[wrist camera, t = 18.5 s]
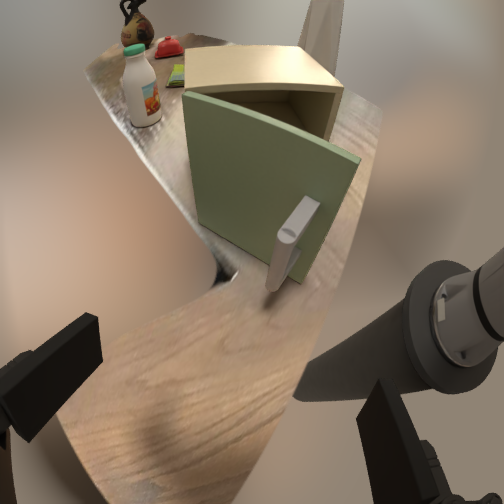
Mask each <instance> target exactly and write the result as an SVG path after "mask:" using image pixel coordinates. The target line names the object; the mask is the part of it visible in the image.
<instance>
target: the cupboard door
mask: <svg viewBox="0 0 504 504" xmlns="http://www.w3.org/2000/svg"><path fill="white" fill-rule="evenodd" d="M182 104H183V113H184V122H185V130H186V139H187V147H188V154H189V162H190V169H191V176H192V183H193V190H194V196H195V203H196V209H197V215H198V221H199V223H200V224H202V225H204V226H205V227H207V228H209V229H210V230H212V231H214V232H215V233H217V234H219V235H220V236H222V237H224V238H225V239H227V240H229V241H230V242H232V243H234V244H235V245H237V246H239V247H240V248H242V249H244V250H245V251H247V252H249V253H250V254H252V255H253V256H255V257H257V258H258V259H260V260H262V261H263V262H265V263H267V264H268V265H270V267H269V271H268V275H267V279H266V283H265V287H266V289H267V290H269V291H271V292H274V291H277V290H278V289H279V287H280V286H281V284H282V283H283V281H284V280H285V278H286V277H287V276H288V277H290V278H292V279H293V280H295V281H297V282H298V283H300V284H302V283H303V281H304V279H305V277H306V275H307V274H308V272H309V270H310V268H311V266H312V264H313V262H314V260H315V258H316V256H317V254H318V252H319V250H320V248H321V246H322V244H323V242H324V240H325V238H326V236H327V234H328V232H329V229H330V227H331V225H332V223H333V221H334V219H335V217H336V215H337V213H338V210H339V208H340V206H341V204H342V202H343V200H344V197H345V195H346V193H347V191H348V189H349V186H350V184H351V182H352V180H353V177H354V175H355V173H356V170H357V168H358V166H359V163H360V161H361V158H360V157H358V156H356V155H354V154H352V153H350V152H348V151H346V150H344V149H342V148H340V147H338V146H336V145H334V144H332V143H330V142H328V141H326V140H323V139H321V138H319V137H317V136H315V135H312V134H310V133H308V132H306V131H303V130H301V129H299V128H296V127H294V126H292V125H289V124H287V123H284V122H282V121H279V120H277V119H274V118H271V117H269V116H266V115H263V114H261V113H258V112H255V111H252V110H250V109H247V108H244V107H241V106H238V105H235V104H232V103H229V102H226V101H222V100H219V99H216V98H212V97H209V96H205V95H202V94H198V93H195V92H191V91H187V92H185V93H183V94H182Z"/></svg>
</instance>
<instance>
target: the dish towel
mask: <svg viewBox="0 0 504 504" xmlns="http://www.w3.org/2000/svg"><path fill="white" fill-rule="evenodd" d="M176 86H185V65H174V69H173V72H172V74H171V76H170V78H169V80H168V83H167V85H166V87H176Z"/></svg>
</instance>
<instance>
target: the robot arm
mask: <svg viewBox="0 0 504 504" xmlns="http://www.w3.org/2000/svg"><path fill="white" fill-rule="evenodd" d="M429 323H430V330H431V334H432V337H433V340H434V343H435V345H436V347H437V349H438V351H439V353H440V354H441V355H442V357H443V358H444V359H445V360H446V361H447V362H448V363H449V364H451V365H452V366H454V367H457V368H469V367H472V366H475V365H477V364H479V363H480V362H482V361H483V360H484V359H485V358H487V357H488V356H489V355H490V354H491V353H492V352H493V351H494V350H495V349H496V348H497V347H498V346H499V345H500V344H501V343H502V342H503V341H504V248H502V249H501V250H500V251H499V252H498V253H497V254H495V255H494V256H493V257H492V258H491V259H489V260H488V261H487V262H486V263H485V264H484V265H482V266H481V267H480V268H479V269H477V270H474V271H471V272H467V273H463V274H459V275H456V276H453V277H450V278H448V279H447V280H445V281H444V282H443V283H442V284H440V285H439V286H438V287H437V289H436V290H435V292H434V293H433V296H432V298H431V302H430V308H429ZM102 362H103V357H102V350H101V342H100V333H99V323H98V317H97V316H94V315H92V314H89V313H87V312H86V313H84V314H83V315H82V316H80V317H79V318H77V319H76V320H75V321H73V322H72V323H71V324H69V325H68V326H66V327H65V328H64V329H62V330H61V331H60V332H58V333H57V334H56V335H54V336H53V337H51V338H50V339H49V340H47V341H46V342H45V343H44V344H42V345H41V346H40V347H38V348H37V349H36V350H34V351H31V350H29V351H26V352H23V353H20V354H19V355H18V356H17V357H15V358H14V359H13V361H10V362H9V363H7V365H5V366H4V367H2V368H1V369H0V504H17V500H16V495H15V488H14V481H13V473H12V462H11V445H10V444H11V443H10V430H9V426H10V425H12V426H13V428H14V430H15V431H16V433H17V434H18V435H19V436H21V437H22V438H23V439H24V440H26V441H27V442H28V443H30V441H31V440H32V439H33V438H34V437H35V436H36V435H37V433H38V432H39V431H40V430H41V429H42V428H43V427H44V425H45V424H46V423H47V422H48V421H49V420H50V419H51V418H52V416H53V415H54V414H55V413H56V412H57V411H58V410H59V409H60V408H61V406H62V405H63V404H64V403H65V402H66V401H67V400H68V399H69V398H70V397H71V395H72V394H73V393H74V392H75V391H76V390H77V389H78V388H79V387H80V386H81V385H82V384H83V382H84V381H85V380H86V379H87V378H88V377H89V376H90V375H91V374H92V373H93V372H94V371H95V370H96V369H97V368H98V366H99V365H100V364H101V363H102ZM356 421H357V425H358V429H359V433H360V438H361V442H362V447H363V451H364V456H365V460H366V465H367V470H368V475H369V480H370V486H371V491H372V496H373V502H374V504H502V499H501V498H500V496H499V495H497V494H496V493H488V494H487V495H486V496H484V497H483V498H482V499H481V500H478V501H465V500H464V498H463V497H461V496H459V495H455V494H452V492H451V490H450V488H449V485H448V482H447V480H446V477H445V474H444V472H443V470H442V467H441V466H440V462H439V460H438V459H437V455H436V452H435V450H434V448H433V447H432V446H431V444H430V443H429V442H428V441H427V440H421V441H420V440H419V437H418V435H417V433H416V430H415V428H414V425H413V423H412V421H411V418H410V416H409V414H408V412H407V409H406V407H405V405H404V403H403V401H402V398H401V396H400V394H399V392H398V390H397V387H396V385H395V383H394V381H393V379H382V378H379V379H378V381H377V382H376V384H375V386H374V388H373V390H372V392H371V394H370V395H369V397H368V399H367V401H366V403H365V404H364V406H363V408H362V409H361V411H360V413H359V414H358V416H357V418H356Z"/></svg>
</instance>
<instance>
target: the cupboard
mask: <svg viewBox="0 0 504 504" xmlns="http://www.w3.org/2000/svg"><path fill="white" fill-rule="evenodd" d="M343 90H344V86H343V85H342V84H341V83H339V81H338V80H337V79H336V78H334V77H333V76H332V75H331V74H330V73H329V72H328V71H327V70H326V69H325V68H324V67H322V66H321V65H320V64H319V63H318V62H317V61H316V60H314V59H313V58H312V57H311V56H310V55H309V54H307V53H306V52H305V51H304V50H302V49H301V48H300V47H290V46H272V45H269V46H268V45H231V46H213V47H201V48H191V49H185V92H187V91H191V92H195V93H198V94H202V95H205V96H209V97H212V98H216V99H219V100H222V101H226V102H229V103H232V104H235V105H238V106H241V107H244V108H247V109H250V110H252V111H255V112H258V113H261V114H263V115H266V116H269V117H271V118H274V119H277V120H279V121H282V122H284V123H287V124H289V125H292V126H294V127H296V128H299V129H301V130H303V131H306V132H308V133H310V134H312V135H315V136H317V137H319V138H321V139H323V140H326V141H328V142H329V139H330V136H331V133H332V129H333V126H334V122H335V119H336V116H337V112H338V109H339V105H340V102H341V98H342V94H343Z"/></svg>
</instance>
